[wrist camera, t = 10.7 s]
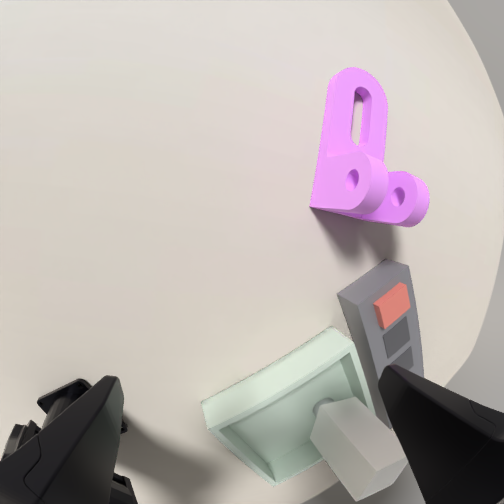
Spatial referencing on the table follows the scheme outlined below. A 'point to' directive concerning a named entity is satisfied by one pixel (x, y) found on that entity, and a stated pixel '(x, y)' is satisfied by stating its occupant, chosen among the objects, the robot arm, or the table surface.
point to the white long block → (357, 446)
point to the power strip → (373, 333)
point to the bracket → (362, 159)
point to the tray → (286, 406)
